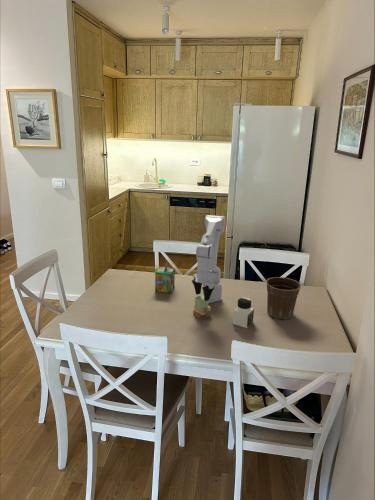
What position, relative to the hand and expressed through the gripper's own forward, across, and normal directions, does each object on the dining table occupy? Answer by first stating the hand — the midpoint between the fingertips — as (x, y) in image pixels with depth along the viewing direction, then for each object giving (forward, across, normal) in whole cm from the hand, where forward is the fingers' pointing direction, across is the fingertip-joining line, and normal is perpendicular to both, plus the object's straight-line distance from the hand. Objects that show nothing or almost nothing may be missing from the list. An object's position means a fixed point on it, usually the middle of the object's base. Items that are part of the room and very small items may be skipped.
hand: (202, 297), depth 171 cm
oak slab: (+8, 0, 0) cm, 8 cm away
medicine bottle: (+10, +15, +13) cm, 22 cm away
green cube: (+5, 0, 0) cm, 5 cm away
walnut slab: (+10, 0, 0) cm, 10 cm away
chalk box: (+10, -35, -2) cm, 36 cm away
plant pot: (+10, +16, +35) cm, 40 cm away
